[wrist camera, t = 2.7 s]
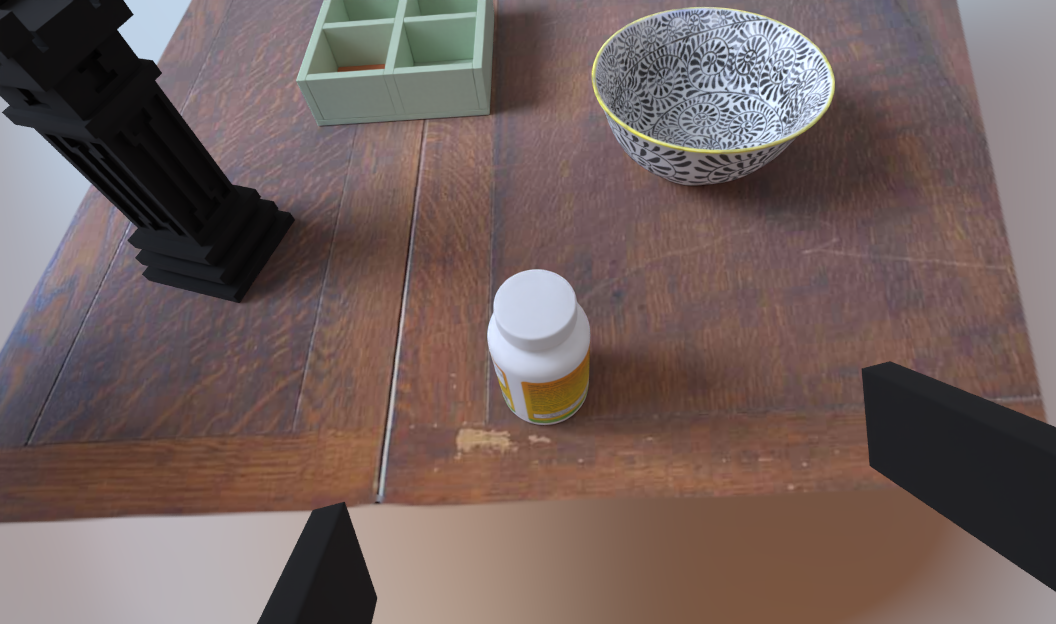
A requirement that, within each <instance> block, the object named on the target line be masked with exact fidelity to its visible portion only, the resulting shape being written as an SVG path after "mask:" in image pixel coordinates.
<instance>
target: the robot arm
mask: <svg viewBox="0 0 1056 624" xmlns="http://www.w3.org/2000/svg"><path fill="white" fill-rule="evenodd" d="M862 379H863V391H864V403H865V414H866V426H867V438H868V450H869V462H870V466H871V467H872V468H874V469H875V470H877V471H878V472H880V473H881V474H883V475H884V476H886V477H887V478H889V479H890V480H891V481H893V482H894V483H896V484H897V485H899V486H900V487H902V488H903V489H905V490H906V491H908V492H910V493H911V494H912V495H914V496H915V497H917V498H918V499H920V500H921V501H923V502H924V503H925V504H927V505H928V506H930V507H931V508H933V509H935V510H936V511H937V512H939V513H940V514H942V515H943V516H945V517H946V518H948V519H949V520H951V521H952V522H953V523H955V524H956V525H958V526H959V527H961V528H962V529H964V530H965V531H967V532H968V533H970V534H971V535H973V536H974V537H976V538H977V539H979V540H980V541H982V542H983V543H985V544H986V545H987V546H989V547H990V548H992V549H993V550H995V551H996V552H998V553H999V554H1001V555H1002V556H1004V557H1005V558H1007V559H1008V560H1010V561H1011V562H1012V563H1014V564H1015V565H1017V566H1018V567H1020V568H1021V569H1023V570H1024V571H1026V572H1027V573H1029V574H1030V575H1032V576H1033V577H1035V578H1036V579H1038V580H1039V581H1041V582H1042V583H1043V584H1045V585H1046V586H1048V587H1049V588H1051V589H1053V590H1054V591H1056V427H1054V426H1051V425H1049V424H1046V423H1044V422H1041V421H1039V420H1036V419H1034V418H1031V417H1029V416H1026V415H1024V414H1021V413H1019V412H1016V411H1014V410H1011V409H1009V408H1006V407H1004V406H1001V405H999V404H996V403H994V402H991V401H989V400H986V399H984V398H981V397H979V396H976V395H973V394H971V393H968V392H966V391H963V390H961V389H958V388H956V387H953V386H951V385H948V384H946V383H943V382H941V381H938V380H936V379H933V378H931V377H928V376H926V375H923V374H921V373H918V372H916V371H913V370H911V369H908V368H906V367H903V366H901V365H898V364H896V363H893V362H886V363H882V364H878V365H874V366H870V367H866V368H862ZM376 602H377V596H376V593H375V590H374V587H373V584H372V581H371V578H370V575H369V572H368V569H367V566H366V563H365V560H364V557H363V554H362V551H361V548H360V545H359V542H358V539H357V537H356V534H355V530H354V528H353V525H352V522H351V519H350V516H349V513H348V510H347V507H346V504H345V502H342V503H338V504H334V505H330V506H327V507H323V508H319V509H315V510H313V511H312V513H311V515H310V517H309V519H308V521H307V523H306V525H305V527H304V529H303V531H302V533H301V535H300V537H299V539H298V541H297V544H296V545H295V548H294V550H293V552H292V554H291V556H290V558H289V560H288V562H287V564H286V566H285V568H284V570H283V572H282V574H281V576H280V578H279V580H278V582H277V584H276V587H275V588H274V590H273V593H272V595H271V596H270V599H269V601H268V603H267V605H266V607H265V609H264V611H263V613H262V615H261V617H260V619H259V621H258V623H257V624H371V623H372V619H373V614H374V610H375V606H376Z"/></svg>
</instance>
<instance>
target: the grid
mask: <svg viewBox="0 0 1056 624" xmlns="http://www.w3.org/2000/svg"><path fill="white" fill-rule="evenodd" d="M493 33H494V8H493V0H324V1H323V4H322V7H321V10H320V13H319V16H318V19H317V22H316V25H315V28H314V30H313V33H312V36H311V39H310V42H309V45H308V48H307V51H306V54H305V57H304V60H303V63H302V66H301V68H300V71H299V74H298V77H297V80H296V81H297V83H298V85H299V87H300V89H301V92H302V94H303V96H304V98H305V100H306V102H307V104H308V106H309V108H310V110H311V112H312V114H313V116H314V118H315V120H316V122H317V124H318V126H324V125H339V124H354V123H370V122H385V121H400V120H415V119H431V118H446V117H461V116H477V115H489V114H490V96H491V75H492V54H493Z"/></svg>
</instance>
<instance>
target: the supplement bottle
mask: <svg viewBox="0 0 1056 624" xmlns="http://www.w3.org/2000/svg"><path fill="white" fill-rule="evenodd" d="M487 337H488V345H489V350H490V354H491V357H492V360H493V364H494V367H495V371H496V374H497V377H498V380H499V384H500V387H501V391H502V394H503V397H504V399H505V401H506V403H507V405H508V407H509V408H510V409H511V410H512V412H513V413H514V414H516V415H517V416H518V417H520V418H521V419H523V420H525V421H527V422H530V423H533V424H539V425H550V424H556V423H559V422H562V421H564V420H566V419H568V418H570V417H571V416H572V415H574V414H575V413H576V412H577V411H578V410H579V408H580V407H581V406H582V404H583V403H584V401H585V398H586V396H587V392H588V386H589V358H590V326H589V322H588V319H587V316H586V314H585V312H584V310H583V309H582V308H581V306H580V305H579V304H578V303H577V300H576V295H575V292H574V290H573V288H572V287H571V285H570V284H569V283H568V282H567V281H566V280H565V279H564V278H563V277H561V276H560V275H558V274H556V273H553V272H551V271H547V270H539V269H534V270H527V271H523V272H520V273H517V274H515V275H513V276H512V277H510V278H509V279H507V280H506V281H505V282H504V283H503V284H502V285H501V287H500V288H499V290H498V291H497V293H496V296H495V299H494V313H493V315H492V317H491V319H490V322H489V326H488V334H487Z"/></svg>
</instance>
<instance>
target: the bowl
mask: <svg viewBox="0 0 1056 624" xmlns="http://www.w3.org/2000/svg"><path fill="white" fill-rule="evenodd" d="M592 85H593V89H594V93H595V95H596V98H597V99H598V101H599V103H600V105H601V107H602V108H603V110H604V112H605V114H606V117H607V119H608V122H609V124H610V127H611V129H612V131H613V133H614V135H615V137H616V139H617V141H618V142H619V144H620V145H621V147H622V148H623V149H624V150H625V152H626V153H627V154H628V155H629V156H630V157H631V158H632V159H633V160H634V161H635V162H637V163H638V164H639V165H640V166H642V167H643V168H645V169H646V170H648V171H650V172H651V173H653V174H655V175H658V176H660V177H663V178H665V179H667V180H669V181H672V182H675V183H679V184H683V185H704V184H717V183H723V182H727V181H731V180H735V179H738V178H741V177H743V176H746V175H748V174H750V173H752V172H754V171H756V170H758V169H760V168H761V167H763V166H764V165H766V164H767V163H769V162H770V161H771V160H773V159H774V158H775V157H777V156H778V155H779V154H780V153H781V152H782V151H783V150H784V149H785V148H787V147H788V146H789V145H790V144H791V143H792V142H793V141H794V140H795V139H796V138H797V137H798V136H799V135H800V134H802V133H804V132H805V131H807V130H808V129H809V128H811V127H812V126H813V125H814V124H815V123H816V122H817V121H818V120H819V119H820V118H821V117H822V116H823V115H824V114H825V112H826V111H827V109H828V108H829V106H830V103H831V101H832V98H833V95H834V91H835V79H834V74H833V70H832V67H831V65H830V63H829V62H828V60H827V58H826V57H825V55H824V54H823V53H822V51H821V50H820V49H819V48H818V47H817V46H816V45H815V44H814V43H813V42H812V41H810V40H809V39H808V38H807V37H805V36H804V35H803V34H801V33H800V32H798V31H796V30H795V29H793V28H791V27H789V26H787V25H785V24H783V23H781V22H779V21H776V20H774V19H771V18H768V17H765V16H762V15H759V14H755V13H751V12H747V11H742V10H736V9H728V8H717V7H692V8H681V9H674V10H668V11H664V12H659V13H656V14H652V15H649V16H646V17H644V18H641V19H638V20H636V21H634V22H632V23H630V24H629V25H627V26H625V27H623V28H622V29H620V30H619V31H617V32H616V33H615V34H614V35H612V36H611V37H610V38H609V39H608V40H607V41H606V42H605V44H604V45H603V46H602V48H601V49H600V51H599V52H598V54H597V56H596V58H595V61H594V64H593V68H592Z"/></svg>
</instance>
